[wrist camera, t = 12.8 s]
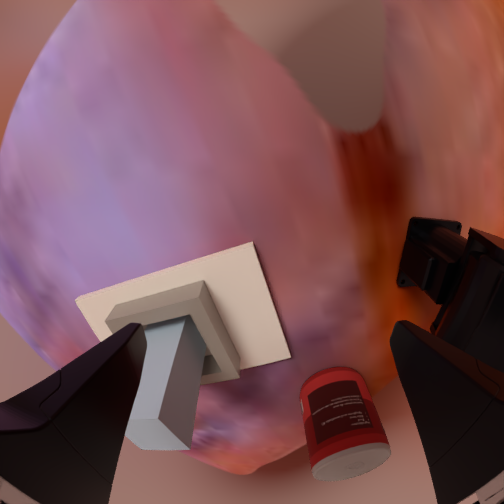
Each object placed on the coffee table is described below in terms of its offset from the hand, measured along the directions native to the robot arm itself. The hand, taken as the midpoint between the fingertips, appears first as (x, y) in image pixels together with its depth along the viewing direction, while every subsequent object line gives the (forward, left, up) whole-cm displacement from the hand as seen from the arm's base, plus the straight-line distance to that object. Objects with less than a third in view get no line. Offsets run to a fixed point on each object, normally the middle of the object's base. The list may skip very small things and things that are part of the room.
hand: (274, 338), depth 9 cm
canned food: (-9, +19, -13) cm, 25 cm away
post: (+7, +10, -12) cm, 17 cm away
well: (+7, +10, -13) cm, 18 cm away
